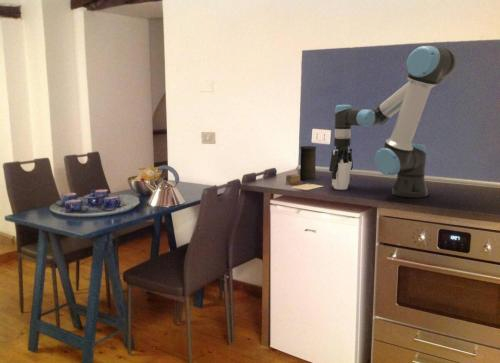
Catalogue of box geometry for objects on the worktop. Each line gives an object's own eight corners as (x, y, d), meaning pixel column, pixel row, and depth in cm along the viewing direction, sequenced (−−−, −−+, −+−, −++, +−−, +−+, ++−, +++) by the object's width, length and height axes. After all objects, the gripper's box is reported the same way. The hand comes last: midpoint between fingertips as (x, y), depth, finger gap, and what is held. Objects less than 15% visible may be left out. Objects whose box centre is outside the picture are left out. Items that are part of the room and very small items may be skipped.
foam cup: (350, 191, 218) (351, 163, 215) (330, 190, 220) (331, 163, 217) (350, 187, 227) (351, 160, 225) (331, 186, 229) (332, 160, 226)
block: (300, 185, 233) (300, 175, 232) (292, 186, 230) (292, 176, 229) (293, 183, 237) (293, 174, 236) (286, 184, 234) (286, 175, 233)
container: (318, 179, 248) (319, 146, 245) (311, 182, 241) (312, 147, 237) (303, 178, 253) (304, 145, 250) (296, 180, 245) (296, 146, 242)
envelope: (324, 186, 229) (324, 185, 229) (306, 190, 219) (306, 189, 219) (307, 184, 236) (307, 183, 236) (290, 187, 226) (290, 187, 226)
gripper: (348, 136, 229) (346, 180, 233) (322, 138, 214) (320, 186, 218) (361, 136, 224) (359, 182, 228) (335, 139, 209) (334, 188, 212)
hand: (340, 184), depth 223 cm, fingers closed on foam cup, 9 cm apart
